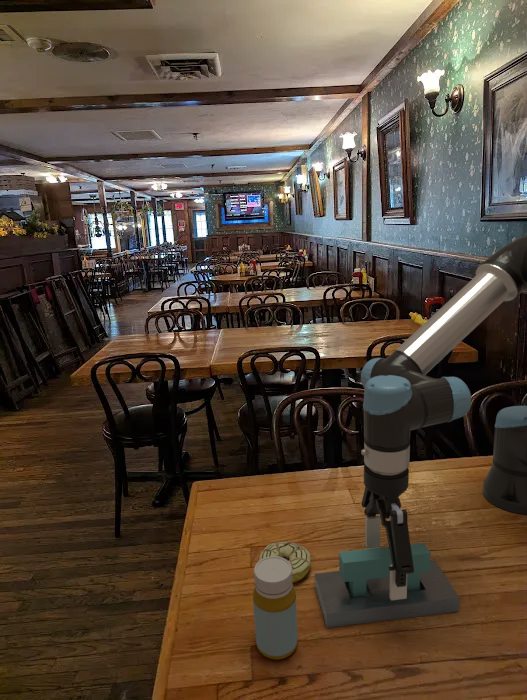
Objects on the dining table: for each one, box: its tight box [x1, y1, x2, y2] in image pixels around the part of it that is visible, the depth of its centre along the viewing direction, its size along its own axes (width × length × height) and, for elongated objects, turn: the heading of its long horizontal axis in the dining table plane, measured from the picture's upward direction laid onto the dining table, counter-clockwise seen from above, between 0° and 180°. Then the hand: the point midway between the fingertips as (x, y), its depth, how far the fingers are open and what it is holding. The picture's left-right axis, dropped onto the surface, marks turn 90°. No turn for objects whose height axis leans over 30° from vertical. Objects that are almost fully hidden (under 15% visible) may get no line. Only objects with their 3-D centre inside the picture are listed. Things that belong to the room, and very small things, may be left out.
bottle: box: [252, 556, 299, 661], centre depth 80 cm, size 7×7×15 cm
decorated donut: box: [258, 541, 312, 585], centre depth 99 cm, size 10×11×4 cm
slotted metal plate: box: [314, 559, 461, 629], centre depth 90 cm, size 24×10×3 cm, turn 96°
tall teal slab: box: [338, 542, 432, 599], centre depth 89 cm, size 16×3×10 cm, turn 96°
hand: (384, 570), depth 89 cm, fingers open, 13 cm apart
